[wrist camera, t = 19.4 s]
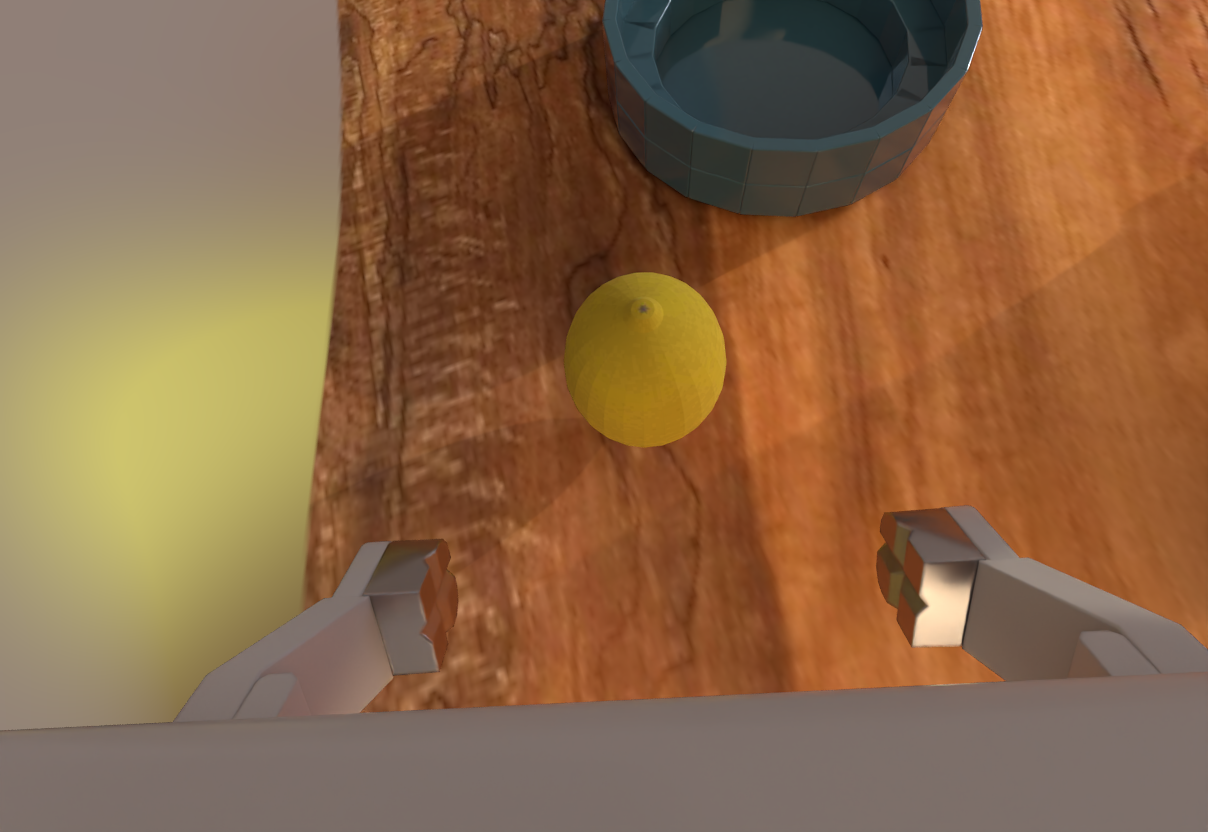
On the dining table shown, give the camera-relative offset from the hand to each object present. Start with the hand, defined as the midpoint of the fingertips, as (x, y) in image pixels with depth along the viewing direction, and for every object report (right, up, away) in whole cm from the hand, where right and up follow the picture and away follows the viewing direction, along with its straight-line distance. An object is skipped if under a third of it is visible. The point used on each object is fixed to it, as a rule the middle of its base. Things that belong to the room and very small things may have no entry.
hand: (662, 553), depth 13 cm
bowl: (+7, +18, +19) cm, 27 cm away
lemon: (+1, +3, +14) cm, 15 cm away
